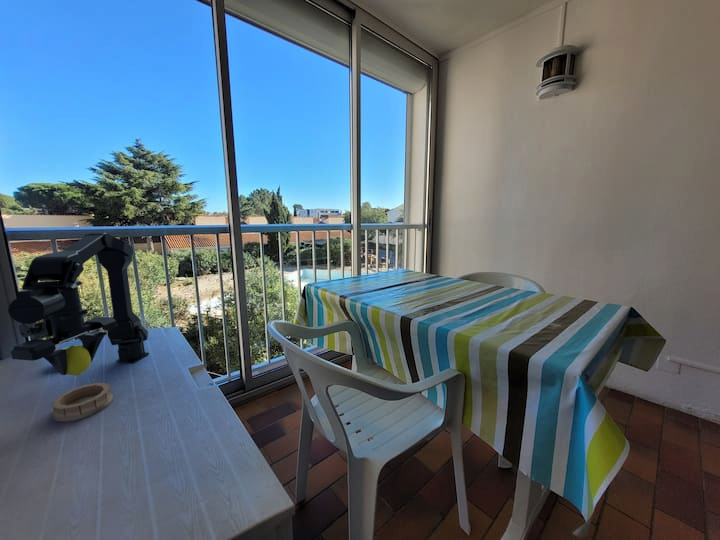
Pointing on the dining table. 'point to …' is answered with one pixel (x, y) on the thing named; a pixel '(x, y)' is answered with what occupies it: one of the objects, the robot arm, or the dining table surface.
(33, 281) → the robot arm
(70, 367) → the lemon
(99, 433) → the dining table surface
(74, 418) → the wooden bowl
